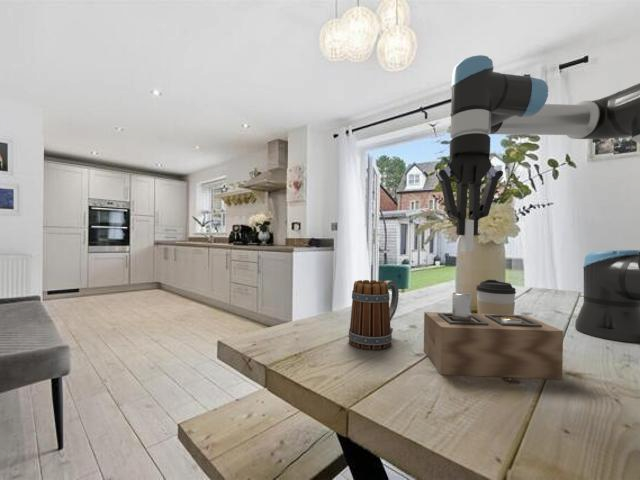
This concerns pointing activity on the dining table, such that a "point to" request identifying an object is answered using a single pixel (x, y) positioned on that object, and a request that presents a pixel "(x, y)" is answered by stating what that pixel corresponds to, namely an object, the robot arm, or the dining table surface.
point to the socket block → (493, 346)
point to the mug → (372, 314)
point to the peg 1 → (461, 307)
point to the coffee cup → (495, 297)
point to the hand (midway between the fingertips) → (466, 251)
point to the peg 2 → (511, 320)
